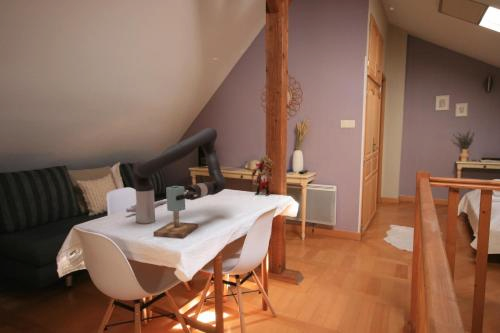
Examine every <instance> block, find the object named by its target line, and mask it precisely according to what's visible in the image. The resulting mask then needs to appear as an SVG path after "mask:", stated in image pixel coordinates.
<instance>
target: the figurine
mask: <svg viewBox="0 0 500 333" xmlns="http://www.w3.org/2000/svg"><path fill="white" fill-rule="evenodd" d="M274 165H275V164H274V163H273V160H272V159H270V157H268V154H266V155H263V157H262V158H260V159H259V163H255V167H254V169H252V172H251V179H252V180H254V177H255V176H256V174H257V176H256V179H255V180H256V182H255V183H256V184H255V185H256V192H255V194H254V195H255V196H259V195H260V192H261V191H263V190H265V191H266V192H265V194H264V195H265V196H267V197H268V196H270V189H269V188H270V185H269V184H270V180H271V181H272V180H273V179H274V170H273V169H274ZM257 171H258V173H257ZM267 171H268V175H269V178H268V177H267V173H266V172H267ZM269 179H270V180H269Z"/></svg>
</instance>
